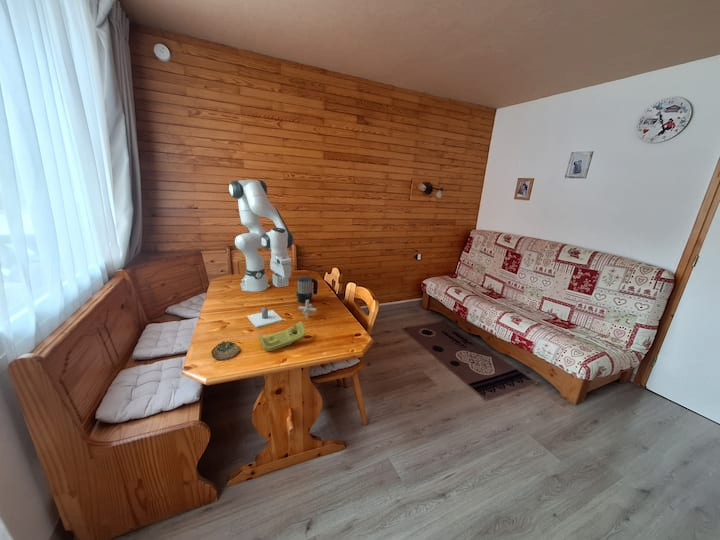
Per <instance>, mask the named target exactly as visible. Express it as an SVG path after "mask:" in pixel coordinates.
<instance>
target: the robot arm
mask: <svg viewBox="0 0 720 540" xmlns="http://www.w3.org/2000/svg"><path fill="white" fill-rule="evenodd" d="M228 186H229V187H228V191H229V194H230V196H231V197H232V198H234V199H237V201H238V202H237V205H238V212H239V213H238V214H239V218H240V223H241V225H242V226H244V227H246V228H247V229H248V231H249V232H246V233H241V234H239V235H237V236H236V237H235V239H234V245H235V247H236V249H238V250H239V251H240V252H242V254H243V255H244V258H245V265H246V266H245V267H246V269H245V275H244V276H243V278H241V282H240V283H239V285H240V287H241V291H242V292H250V293H251V292H252V293H253V292H254V293H257V292H263V291H265V290H267V289H268V288H270V286H271V285H270V283H268V282H269V281H268V276H267V274H266V269H265V261H264V256H263V255H261V254H259V253H258V249H261V248H262V249H263V248H264V249H265V250H270V255H271V258H270V260H269V261H270V262H269V266H270V271H272V272H274V273H273V274H276V273H277V274H279V275H280V276H282V280H281V283H283V284H285V283H286V282H285V280H286V278H288V279H289V278H291V276H292V265H291V264H292V259H291V257H290V256H289V252H288V249H289V248H291V246H292V245H293V244H294V241H295V239H294V236H293V234H292V232H291V231H290V230H289V228H288V227H287V225H286V223H285V221H284V219H283V217H282V215H281V213H280V212H279V210H278V208H276V207H275V206H274V205H273V204H271V202H270V201H269V199H268V196H267V194H268V187H267V184H266V182H265V181H264V180H262V179H261V180H260V179H243V180H241V179H240V180H233V181H231V182H230V183H229V185H228ZM260 217H264V218H266V219H269V220H271V221H272V222H273V223H274V225H275V227H273V228H271V229H270V231H266V230H265V228H264V227H263V226H262V224H261V222H260Z"/></svg>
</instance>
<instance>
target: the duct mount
mask: <svg viewBox="0 0 720 540" xmlns="http://www.w3.org/2000/svg"><path fill="white" fill-rule="evenodd" d="M247 318H248V320H249V321H250V323H252V325H253V326H254V327H255V328H256V329H258V328H262V327H266V326H270V325H273V324H277V323H281V322H283V321H284V319H283V318H282V317H281V316H280V315H279V314H278V313H276V311H274V310H273V309H271V310H268V307H263V308H261V312H258V313H252V314H249V315H247Z"/></svg>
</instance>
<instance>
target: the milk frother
mask: <svg viewBox="0 0 720 540" xmlns="http://www.w3.org/2000/svg"><path fill="white" fill-rule="evenodd" d="M296 280H297V291H296V293H295V296H297V302H298V303H300V304H306V300H309V303H311V302H313V295H318V286H319V284H318V283H319V282H318V280H317V279H316V278H312V276H300V277H297V279H296Z"/></svg>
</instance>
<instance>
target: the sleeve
mask: <svg viewBox="0 0 720 540" xmlns="http://www.w3.org/2000/svg"><path fill="white" fill-rule="evenodd" d="M271 275H272V276H271V277H272V285H273V286H275V287H277V288H281V287H288V286H289V285H290V284H289V278H286V280H285V282H286V283H285V284H283V283H281V280H282V276H280V275H279V274H277V273H276V274H275V273H272V274H271Z"/></svg>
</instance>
